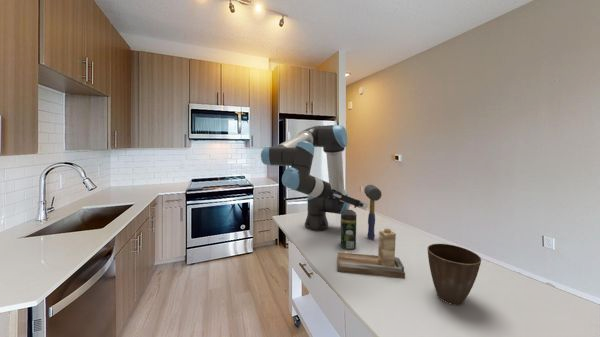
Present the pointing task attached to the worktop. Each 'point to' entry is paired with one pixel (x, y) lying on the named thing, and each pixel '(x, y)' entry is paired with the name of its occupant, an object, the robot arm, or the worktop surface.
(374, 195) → the rubber mallet
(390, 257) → the beige tall block
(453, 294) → the plant pot
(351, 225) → the coffee jar
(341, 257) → the walnut board
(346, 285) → the worktop surface
